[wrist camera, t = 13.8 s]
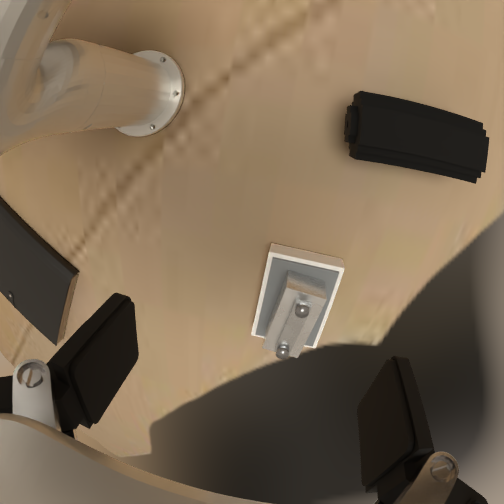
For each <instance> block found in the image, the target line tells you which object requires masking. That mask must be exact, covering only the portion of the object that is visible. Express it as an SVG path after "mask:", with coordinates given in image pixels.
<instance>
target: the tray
mask: <svg viewBox="0 0 504 504" xmlns="http://www.w3.org/2000/svg"><path fill="white" fill-rule="evenodd" d="M344 269H345V268H344V264H343V260H342V259H341V258H337V257H333V256H328V255H324V254H319V253H315V252H310V251H306V250H301V249H297V248H292V247H288V246H283V245H279V244H274V243H271V246H270V250H269V254H268V259H267V264H266V269H265V273H264V278H263V283H262V287H261V292H260V297H259V301H258V306H257V310H256V315H255V320H254V324H253V329H252V333H251V335H253V336H258V337H262V338H264V336H265V331H266V327H267V324H268V322H269V319H270V317H271V314H272V312H273V309H274V307H275V304H276V301H277V299H278V296H279V293H280V291H281V288H282V286H283V283H284V280H285V278H286V275H287V272H288V270H291V271H294V272H297V273H301V274H304V275H307V276H310V277H313V278H316V279H320V280H323V281H325V288H326V298H327V300H326V302H325V304H324V306H323V308H322V311H321V313H320V315H319V317H318V319H317V321H316V323H315V325H314V327H313V329H312V331H311V333H310V335H309V337H308V339H307V341H306V343H305V345H304V346H305V347H311V348H316V346H317V343H318V341H319V338H320V335H321V333H322V330H323V328H324V325H325V322H326V320H327V317H328V314H329V312H330V309H331V306H332V304H333V301H334V298H335V295H336V292H337V290H338V287H339V284H340V281H341V278H342V275H343V272H344Z"/></svg>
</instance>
